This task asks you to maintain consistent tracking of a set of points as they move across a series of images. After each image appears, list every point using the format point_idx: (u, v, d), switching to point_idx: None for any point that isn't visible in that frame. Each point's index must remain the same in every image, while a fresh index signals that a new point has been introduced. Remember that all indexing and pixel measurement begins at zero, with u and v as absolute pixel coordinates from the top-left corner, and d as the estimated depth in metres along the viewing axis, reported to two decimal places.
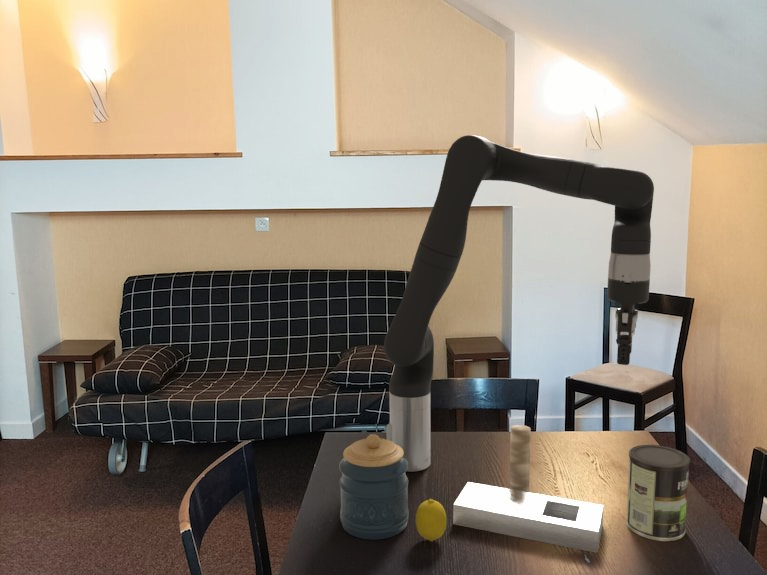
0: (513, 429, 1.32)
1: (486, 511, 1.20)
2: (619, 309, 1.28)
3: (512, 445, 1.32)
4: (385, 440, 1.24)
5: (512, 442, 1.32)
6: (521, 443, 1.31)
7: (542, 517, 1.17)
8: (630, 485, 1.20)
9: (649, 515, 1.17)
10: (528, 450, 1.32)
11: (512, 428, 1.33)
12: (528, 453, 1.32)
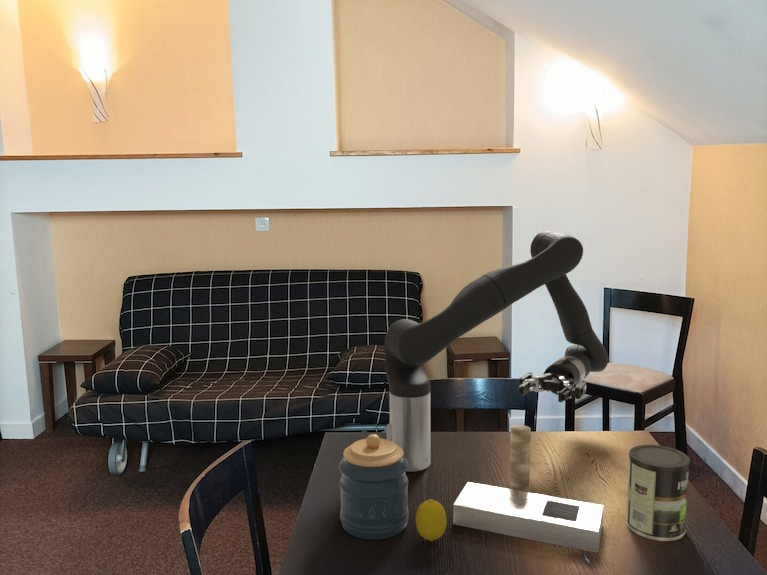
0: (513, 429, 1.32)
1: (486, 511, 1.20)
2: None
3: (512, 445, 1.32)
4: (385, 440, 1.24)
5: (512, 442, 1.32)
6: (521, 443, 1.31)
7: (542, 517, 1.17)
8: (630, 485, 1.20)
9: (649, 515, 1.17)
10: (528, 450, 1.32)
11: (512, 428, 1.33)
12: (528, 453, 1.32)
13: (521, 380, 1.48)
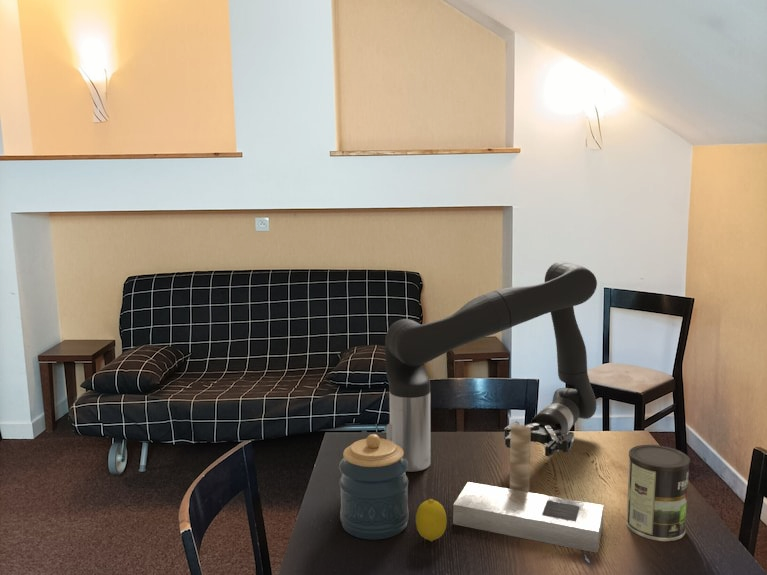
0: (513, 429, 1.32)
1: (486, 511, 1.20)
2: None
3: (512, 445, 1.32)
4: (385, 440, 1.24)
5: (512, 442, 1.32)
6: (521, 443, 1.31)
7: (542, 517, 1.17)
8: (630, 485, 1.20)
9: (649, 515, 1.17)
10: (528, 450, 1.32)
11: (512, 428, 1.33)
12: (528, 453, 1.32)
13: (507, 430, 1.44)
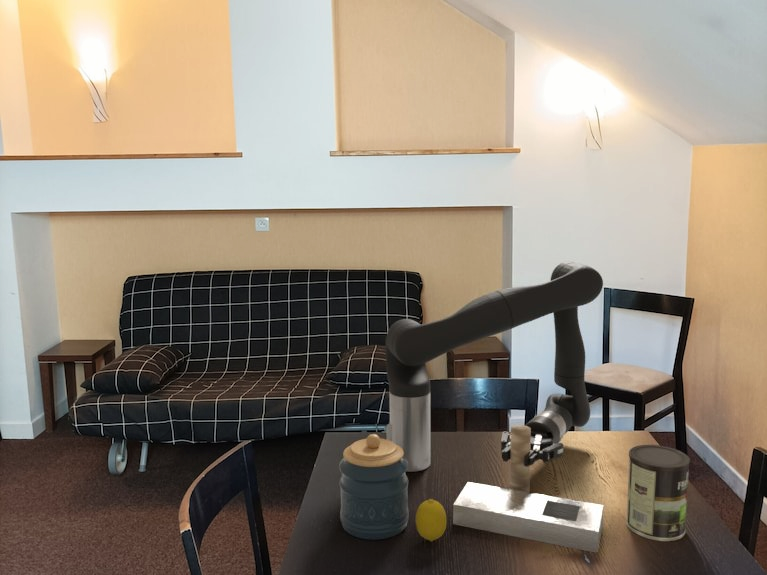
0: (513, 429, 1.32)
1: (486, 511, 1.20)
2: None
3: (512, 445, 1.32)
4: (385, 440, 1.24)
5: (512, 442, 1.32)
6: (521, 443, 1.31)
7: (542, 517, 1.17)
8: (630, 485, 1.20)
9: (649, 515, 1.17)
10: (528, 450, 1.32)
11: (512, 428, 1.33)
12: None
13: (504, 443, 1.37)
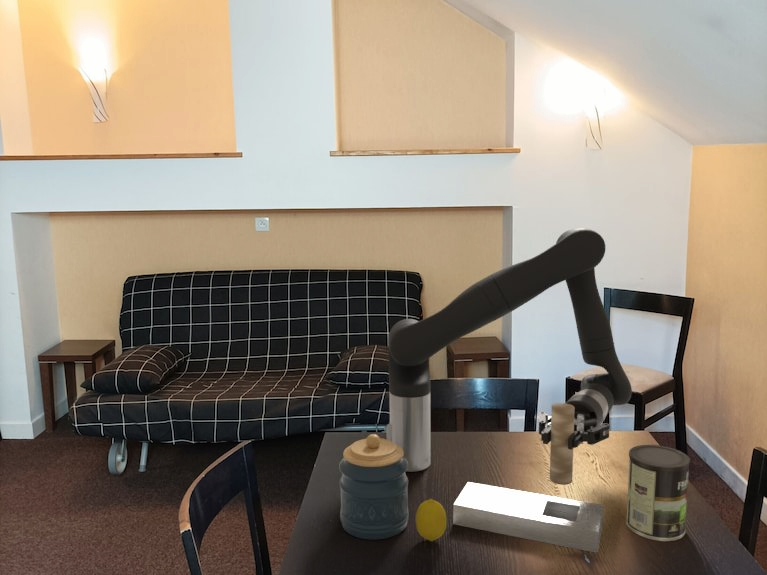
0: (555, 407, 1.17)
1: (486, 511, 1.20)
2: None
3: (554, 425, 1.17)
4: (385, 440, 1.24)
5: (554, 422, 1.17)
6: (564, 423, 1.16)
7: (542, 517, 1.17)
8: (630, 485, 1.20)
9: (649, 515, 1.17)
10: (572, 431, 1.17)
11: (553, 406, 1.18)
12: None
13: (542, 424, 1.22)
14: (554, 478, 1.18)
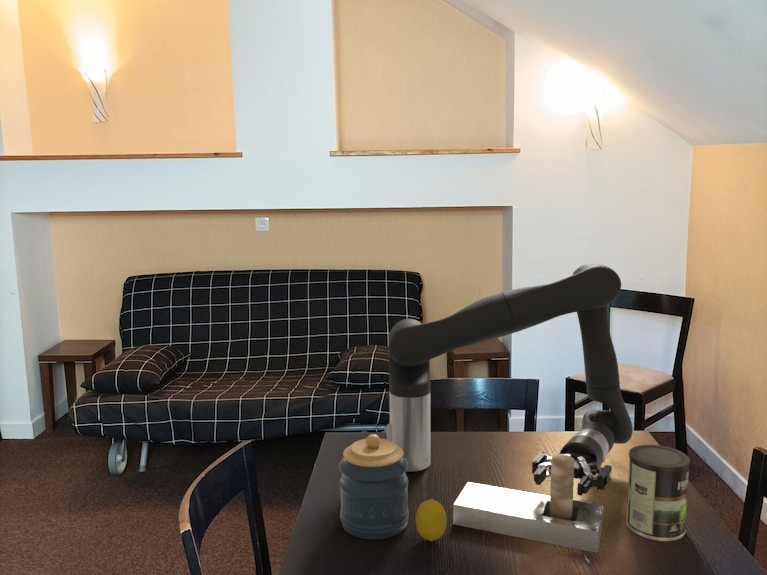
0: (554, 460, 1.18)
1: (486, 511, 1.20)
2: None
3: (553, 478, 1.18)
4: (385, 440, 1.24)
5: (553, 474, 1.18)
6: (564, 476, 1.17)
7: (542, 517, 1.17)
8: (630, 485, 1.20)
9: (649, 515, 1.17)
10: (571, 484, 1.17)
11: (553, 459, 1.18)
12: (571, 487, 1.17)
13: (536, 464, 1.24)
14: None
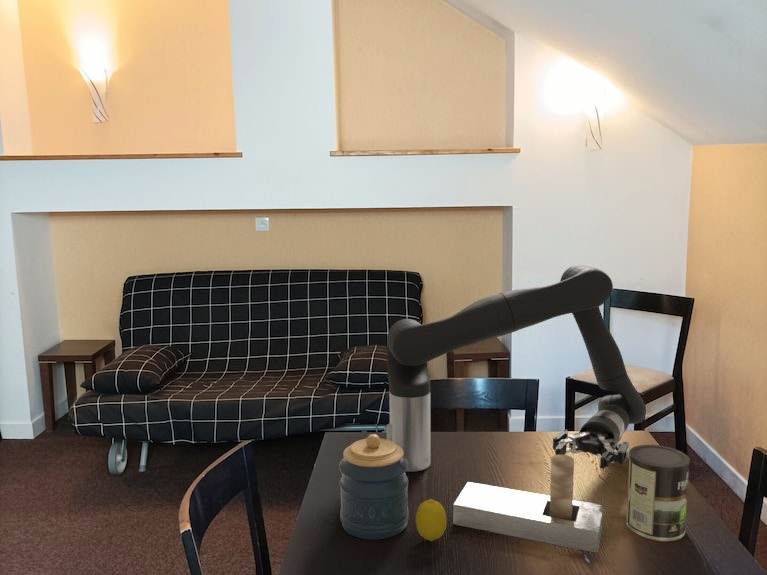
0: (554, 460, 1.18)
1: (486, 511, 1.20)
2: None
3: (553, 478, 1.18)
4: (385, 440, 1.24)
5: (553, 474, 1.18)
6: (564, 476, 1.17)
7: (542, 517, 1.17)
8: (630, 485, 1.20)
9: (649, 515, 1.17)
10: (571, 484, 1.17)
11: (553, 458, 1.18)
12: (571, 487, 1.17)
13: (556, 440, 1.35)
14: None
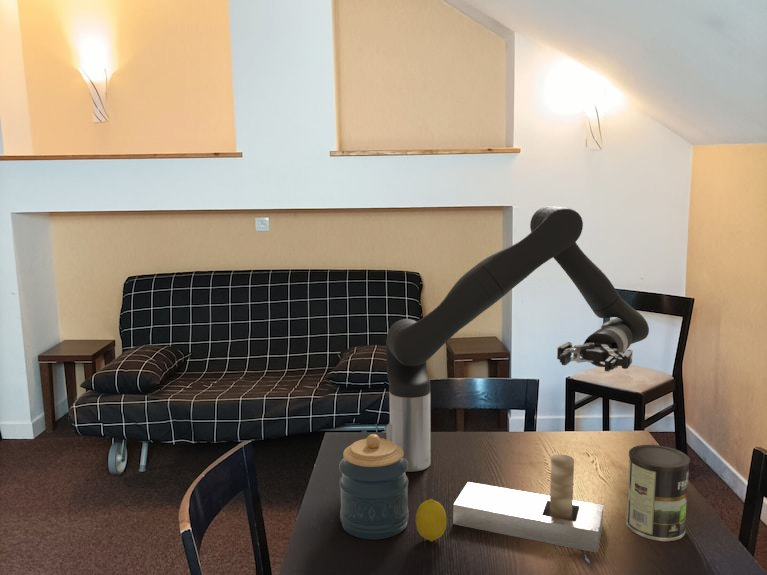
0: (554, 460, 1.18)
1: (486, 511, 1.20)
2: None
3: (553, 478, 1.18)
4: (385, 440, 1.24)
5: (553, 474, 1.18)
6: (564, 476, 1.17)
7: (542, 517, 1.17)
8: (630, 485, 1.20)
9: (649, 515, 1.17)
10: (571, 484, 1.17)
11: (553, 458, 1.18)
12: (571, 487, 1.17)
13: (561, 349, 1.36)
14: None
